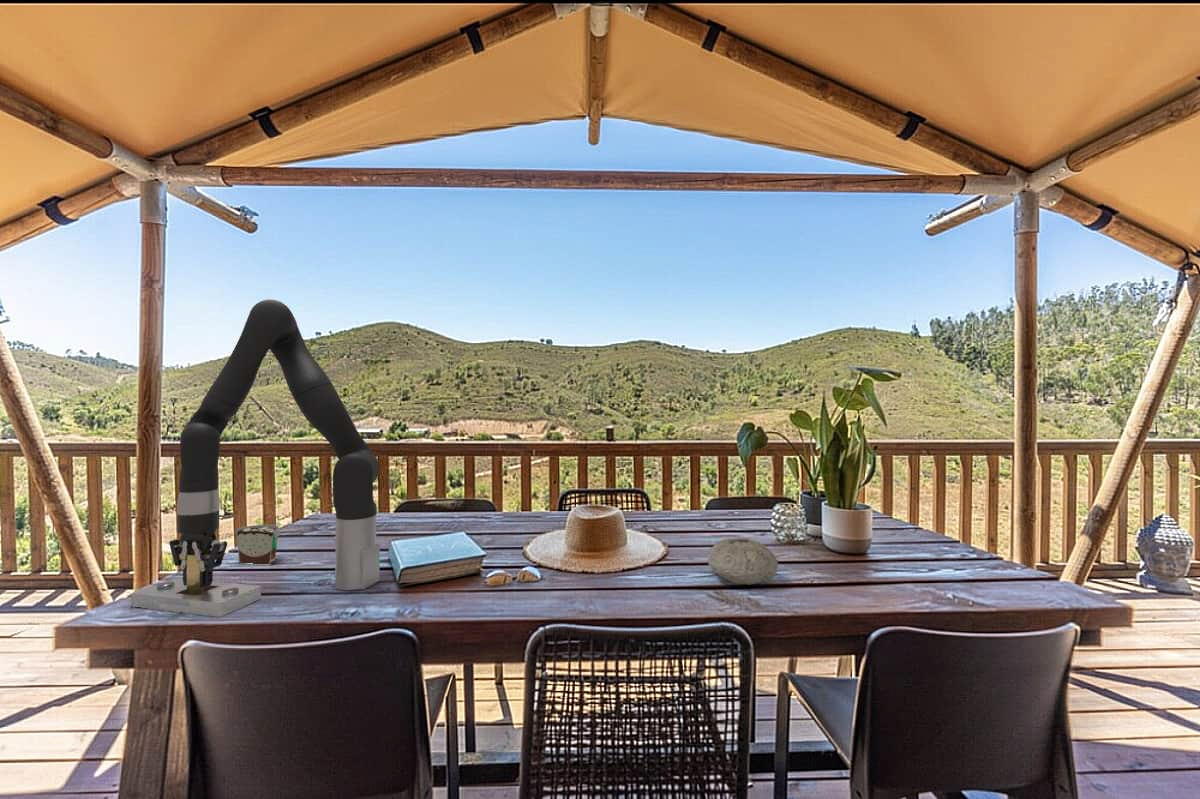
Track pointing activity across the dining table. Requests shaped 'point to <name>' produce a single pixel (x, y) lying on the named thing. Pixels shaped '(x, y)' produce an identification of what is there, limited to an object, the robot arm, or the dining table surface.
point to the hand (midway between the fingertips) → (197, 585)
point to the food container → (257, 543)
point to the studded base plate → (196, 598)
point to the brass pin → (194, 576)
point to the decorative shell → (742, 561)
